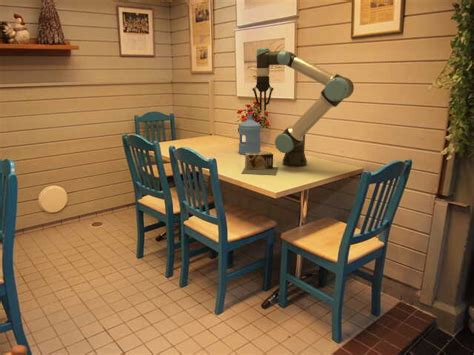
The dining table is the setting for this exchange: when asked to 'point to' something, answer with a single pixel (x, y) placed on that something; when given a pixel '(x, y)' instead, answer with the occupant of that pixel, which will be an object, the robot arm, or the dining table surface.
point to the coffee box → (258, 161)
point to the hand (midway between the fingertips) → (262, 116)
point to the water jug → (250, 136)
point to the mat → (261, 171)
